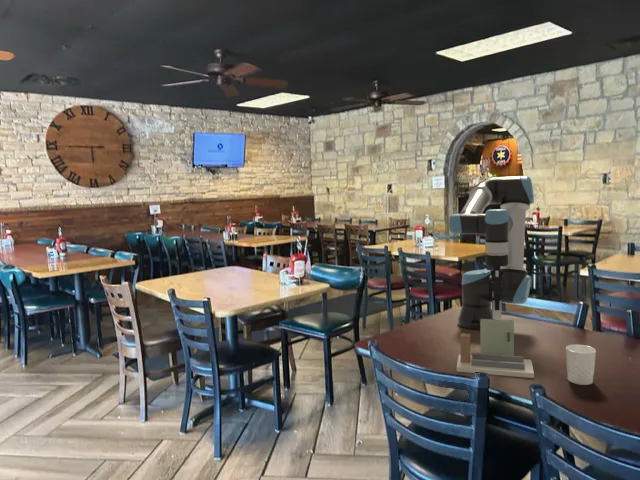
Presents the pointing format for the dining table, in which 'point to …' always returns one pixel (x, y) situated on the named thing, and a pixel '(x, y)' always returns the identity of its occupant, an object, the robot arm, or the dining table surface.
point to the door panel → (497, 337)
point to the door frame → (492, 362)
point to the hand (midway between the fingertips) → (496, 314)
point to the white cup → (580, 364)
